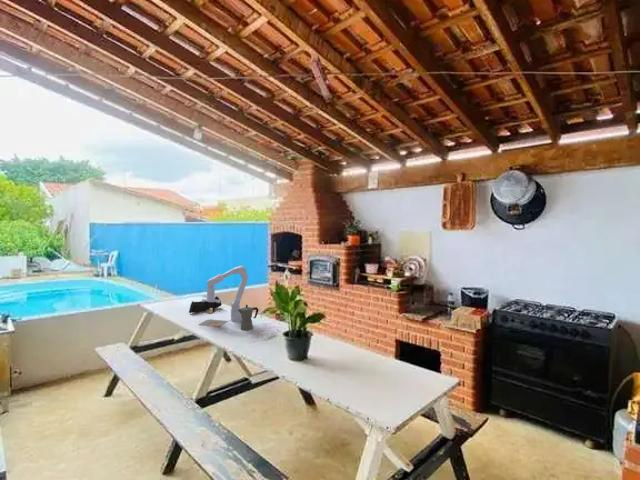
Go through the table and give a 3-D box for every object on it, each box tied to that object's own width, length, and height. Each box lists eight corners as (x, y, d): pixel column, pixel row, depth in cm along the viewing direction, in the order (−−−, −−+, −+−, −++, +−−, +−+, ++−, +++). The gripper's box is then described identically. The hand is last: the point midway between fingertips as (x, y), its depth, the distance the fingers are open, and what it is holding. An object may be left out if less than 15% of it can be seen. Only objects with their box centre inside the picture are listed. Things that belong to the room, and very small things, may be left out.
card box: (215, 311, 289) (215, 308, 289) (211, 314, 282) (211, 310, 282) (210, 311, 290) (210, 307, 290) (206, 313, 283) (206, 310, 283)
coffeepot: (238, 331, 264) (238, 306, 263) (236, 327, 272) (236, 304, 271) (259, 329, 269) (259, 305, 268) (257, 325, 278) (257, 302, 277)
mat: (228, 321, 288) (228, 320, 288) (219, 327, 272) (219, 326, 272) (207, 319, 291) (207, 319, 291) (197, 325, 276) (197, 325, 276)
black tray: (187, 304, 305) (217, 289, 326) (185, 303, 307) (215, 288, 328) (193, 322, 310) (222, 306, 331) (191, 321, 312) (220, 305, 333)
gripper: (221, 293, 288) (221, 310, 288) (205, 292, 291) (205, 309, 291) (217, 295, 281) (217, 312, 282) (200, 294, 284) (200, 311, 284)
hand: (211, 311), depth 286 cm, fingers closed on card box, 4 cm apart
